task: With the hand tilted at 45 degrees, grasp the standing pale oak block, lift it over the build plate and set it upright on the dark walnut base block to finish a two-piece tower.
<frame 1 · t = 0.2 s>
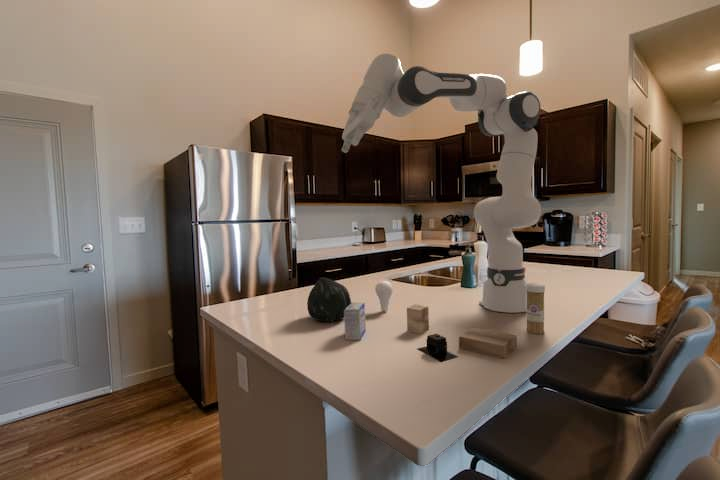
hand: (348, 148, 100), 54 cm above the countertop, tool tilted 25°, fingers open, 8 cm apart
lightbulb: (384, 312, 122), on the countertop
oak block: (418, 330, 102), on the countertop
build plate: (436, 355, 85), on the countertop
sprinkles bottle: (535, 332, 97), on the countertop
walnut base block: (487, 347, 87), on the countertop
squash: (330, 319, 116), on the countertop
medicine box: (355, 336, 99), on the countertop
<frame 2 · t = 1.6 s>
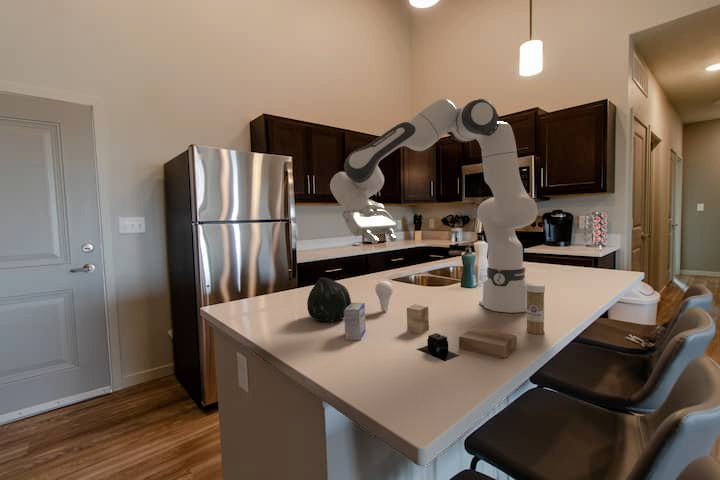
hand: (385, 241, 110), 26 cm above the countertop, tool tilted 45°, fingers open, 8 cm apart
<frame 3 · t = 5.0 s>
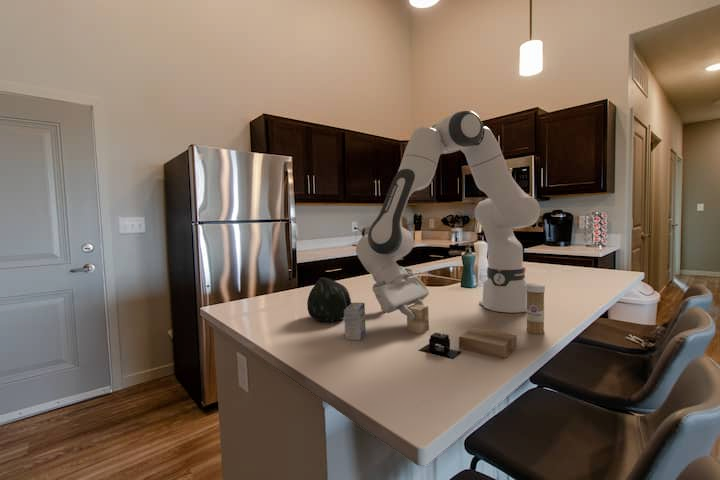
hand: (419, 315, 101), 4 cm above the countertop, tool tilted 45°, fingers closed on oak block, 4 cm apart
oak block: (418, 330, 102), on the countertop, touching gripper
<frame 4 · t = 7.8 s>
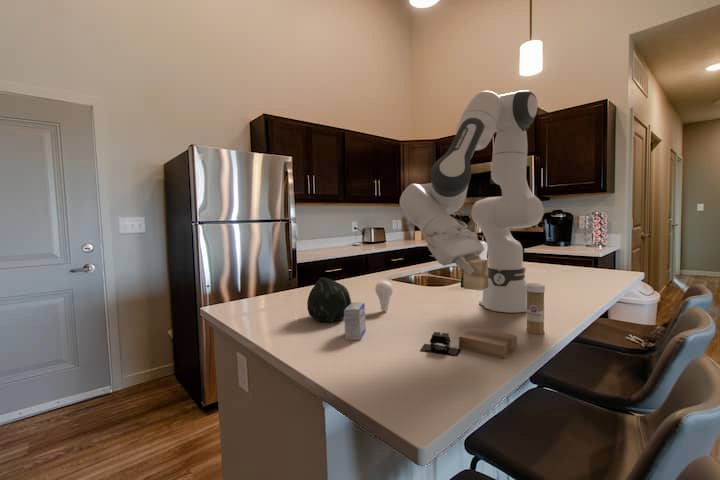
hand: (478, 270, 87), 19 cm above the countertop, tool tilted 45°, fingers closed on oak block, 4 cm apart
oak block: (475, 287, 88), point 15 cm above the countertop, touching gripper
when the fingers open (9 cm above the countertop, at t = 10.5 s): oak block drops 1 cm, resting on walnut base block.
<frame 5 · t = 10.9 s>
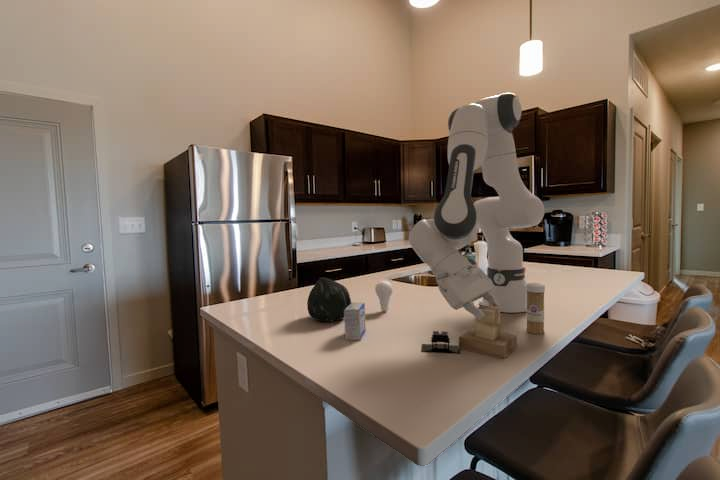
hand: (490, 313, 86), 9 cm above the countertop, tool tilted 45°, fingers open, 8 cm apart
oak block: (487, 335, 87), point 3 cm above the countertop, touching walnut base block
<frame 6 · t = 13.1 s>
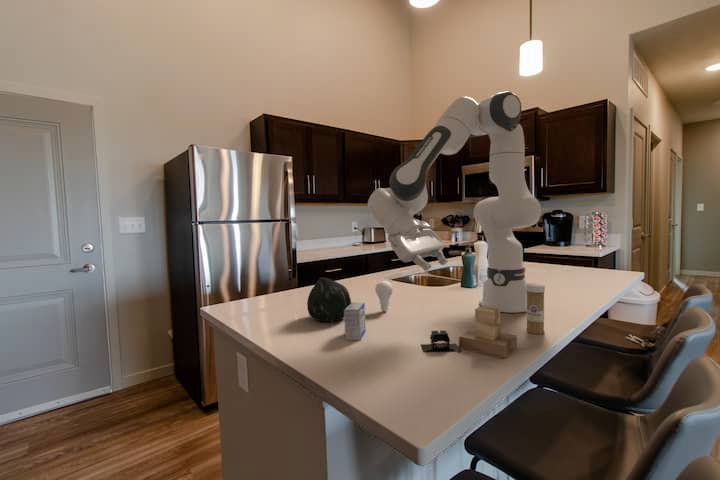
hand: (437, 266, 97), 19 cm above the countertop, tool tilted 45°, fingers open, 8 cm apart
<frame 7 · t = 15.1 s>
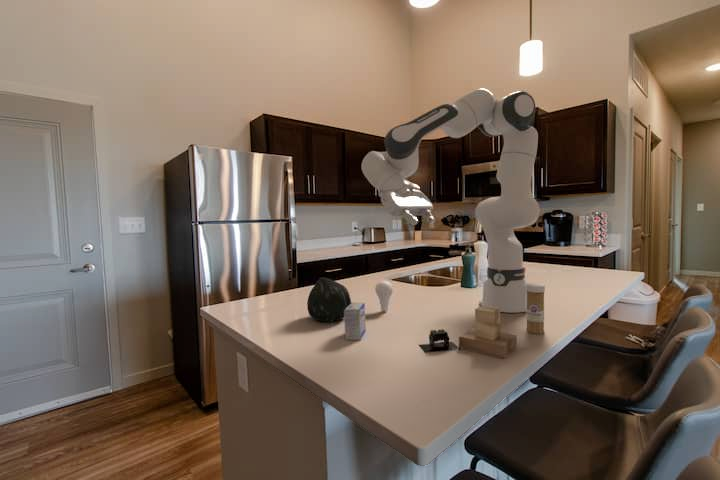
hand: (424, 222, 102), 31 cm above the countertop, tool tilted 45°, fingers open, 8 cm apart
at the end: oak block inside the target area on the walnut base block (0.1 cm from its centre), point 3.0 cm above the walnut base block's base; oak block tilted 0°; the gripper is holding nothing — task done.
